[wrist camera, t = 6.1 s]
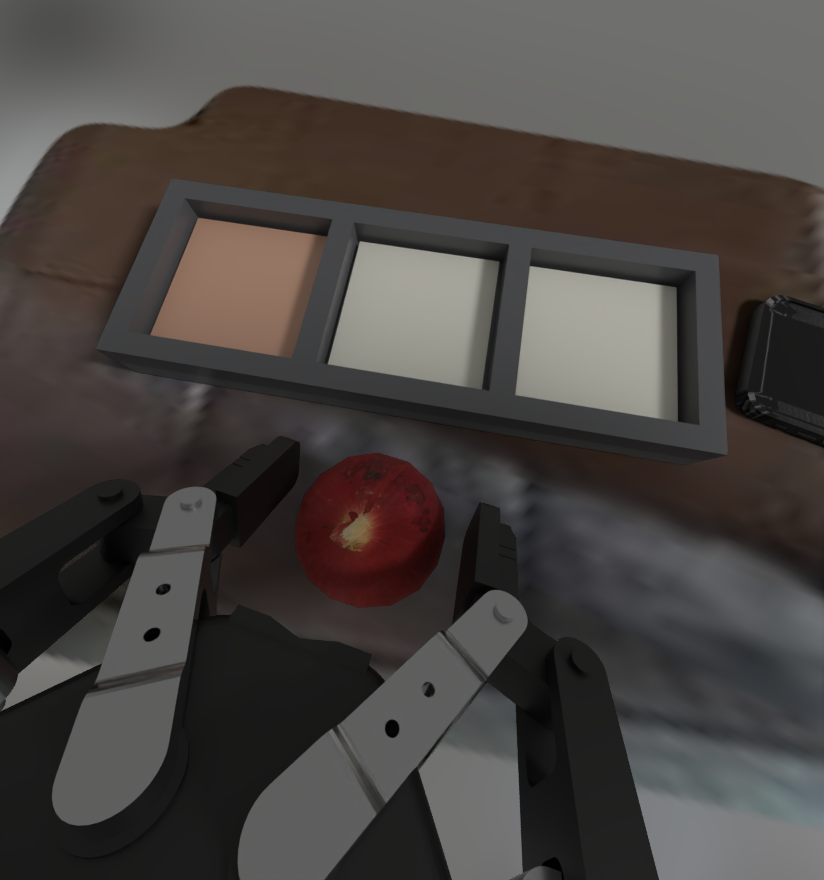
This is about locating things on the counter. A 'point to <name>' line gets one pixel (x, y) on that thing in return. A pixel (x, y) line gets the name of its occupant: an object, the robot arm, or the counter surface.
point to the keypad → (461, 325)
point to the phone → (785, 368)
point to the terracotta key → (241, 287)
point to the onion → (370, 530)
